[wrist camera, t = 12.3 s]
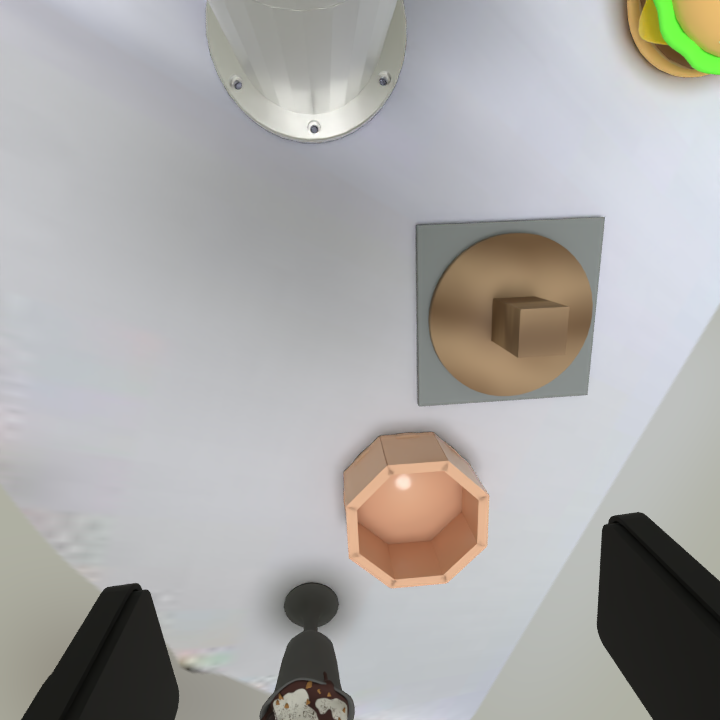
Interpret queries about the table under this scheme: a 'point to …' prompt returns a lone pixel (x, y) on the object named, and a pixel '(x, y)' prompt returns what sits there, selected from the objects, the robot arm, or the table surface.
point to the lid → (510, 314)
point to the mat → (448, 243)
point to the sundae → (309, 663)
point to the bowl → (414, 510)
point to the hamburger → (677, 35)
